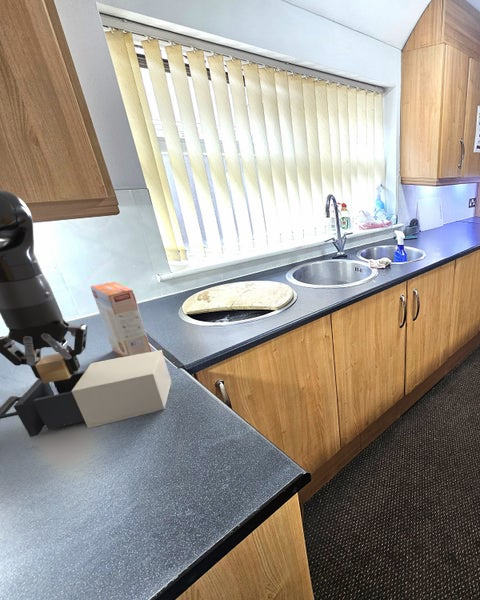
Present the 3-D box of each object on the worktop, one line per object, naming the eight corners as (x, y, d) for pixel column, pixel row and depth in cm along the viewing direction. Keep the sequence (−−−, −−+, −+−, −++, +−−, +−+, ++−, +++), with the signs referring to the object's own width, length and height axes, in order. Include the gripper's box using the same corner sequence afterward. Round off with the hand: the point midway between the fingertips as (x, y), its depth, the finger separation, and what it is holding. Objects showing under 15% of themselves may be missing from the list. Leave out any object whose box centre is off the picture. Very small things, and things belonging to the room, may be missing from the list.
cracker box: (154, 355, 96) (133, 289, 89) (130, 365, 92) (106, 295, 84) (135, 342, 104) (114, 280, 96) (112, 350, 99) (88, 285, 91)
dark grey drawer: (-5, 446, 63) (-24, 414, 61) (23, 413, 72) (7, 383, 69) (108, 418, 71) (96, 388, 68) (121, 391, 79) (110, 363, 76)
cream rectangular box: (88, 428, 69) (71, 391, 66) (104, 397, 79) (91, 362, 75) (164, 409, 75) (153, 373, 71) (171, 382, 84) (161, 349, 81)
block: (43, 383, 66) (34, 365, 65) (52, 373, 70) (44, 355, 68) (69, 378, 68) (61, 360, 66) (76, 368, 71) (69, 351, 70)
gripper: (81, 288, 68) (108, 358, 75) (-15, 299, 63) (23, 375, 69) (67, 300, 62) (97, 376, 69) (-42, 313, 56) (3, 395, 63)
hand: (60, 375), depth 69 cm, fingers closed on block, 4 cm apart
